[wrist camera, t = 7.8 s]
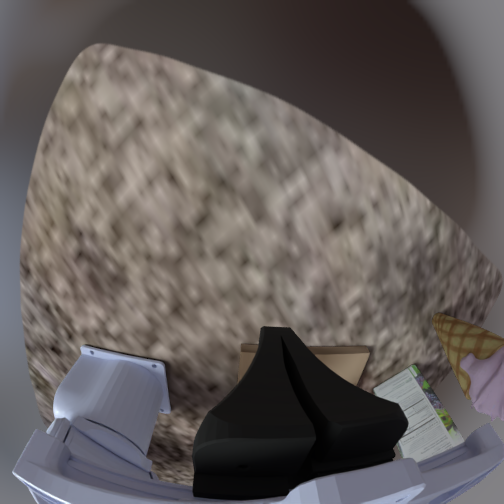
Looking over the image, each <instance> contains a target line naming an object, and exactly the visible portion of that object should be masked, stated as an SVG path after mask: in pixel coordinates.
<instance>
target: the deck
mask: <svg viewBox="0 0 504 504" xmlns="http://www.w3.org/2000/svg"><path fill="white" fill-rule="evenodd" d="M307 348H308V349H309V350H310V351H311V352H312V353H313V354H314V355H315V356H316V357H317V358H318V359H319V360H321V361H322V362H323V363H324V364H325V365H326V366H327V367H328V368H330V369H331V370H332V371H334V372H335V373H336V374H338V375H339V376H340V377H342V378H343V379H345V380H346V381H348V382H350V383H351V384H353V385H355V386H356V385H357V383H358V381H359V378H360V376H361V374H362V371H363V369H364V367H365V364H366V362H367V359H368V357H369V354H370V352H369V350H368V349H367V347H366V346H342V347H307ZM257 349H258V345H251V344H241V350H240V360H239V370H238V380H237V384H238V383H239V381H240V380H241V379H242V377H243V376H244V374H245V373H246V371H247V370H248V368H249V366H250V364H251V363H252V360H253V358H254V356H255V354H256V352H257Z"/></svg>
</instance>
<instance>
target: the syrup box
mask: <svg viewBox="0 0 504 504" xmlns="http://www.w3.org/2000/svg"><path fill="white" fill-rule="evenodd" d="M373 391H374V393H375V396H378V397H380V398H383V399H386V400H389V401H392V402H395V403H398V404H399V405H400V407H401V409H402V410H403V412H404V414H405V416H406V418H407V419H408V422H409V425H408V428H407V430H406V432H405V434H404V435H403V437H402V438H401V439H400V440H399V442H398V443H397V444H396V445H397V447H398V449H399V452H400V454H401V457H402V459H404V458H413V459H414V460H415V461H416V463H417V462H420V461H422V460H425V459H427V458H430V457H432V456H435V455H437V454H440V453H442V452H444V451H446V450H449V449H451V448H453V447H455V446H457V445H459V444H461V443H463V442H465V440H464V439H463V437H462V436H461V434H460V432H459V430H458V429H457V427H456V425H455V424H454V422H453V421H452V419H451V418H450V416H449V414H448V413H447V411H446V410H445V408H444V407H443V405H442V404H441V402H440V400H439V399H438V397H437V396H436V394H435V393H434V391H433V390H432V388H431V387H430V385H429V384H428V383H427V381H426V380H425V378H424V377H423V375H422V374H421V373H420V371H419V370H418V368H417V367H416V365H411V366H410V367H408V368H407V369H405V370H403V371H402V372H400V373H399V374H397V375H395V376H394V377H392V378H390V379H389V380H387V381H385V382H384V383H382V384H380V385H379V386H377V387H375V388H374V389H373Z"/></svg>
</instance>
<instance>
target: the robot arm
mask: <svg viewBox="0 0 504 504" xmlns="http://www.w3.org/2000/svg"><path fill="white" fill-rule="evenodd" d="M92 351H93V352H92ZM81 352H82V355H81V356H80V357H79V359H78V360H77V361H76V363H75V364H74V366H73V367H72V368H71V370H70V371H69V373H68V374H67V375H66V377H65V378H64V380H63V381H62V383H61V384H60V385H59V387H58V389H57V391H56V394H55V398H54V404H53V411H54V416H55V420H54V421H53V422H52V424H51V425H50V427H49V428H48V430H47V431H46V433H45V432H43V431H41V430H39V429H36V430H35V431H34V433H33V435H32V436H31V438H30V440H29V442H28V443H27V445H26V447H25V449H24V451H23V452H22V454H21V456H20V458H19V460H18V462H17V464H16V466H15V467H14V469H13V471H12V472H13V474H14V475H15V476H16V477H17V478H18V479H19V480H20V481H22V482H23V483H24V484H25V485H26V486H27V487H28V489H29V490H30V492H31V494H32V496H33V497H34V499H35V500H36V502H37V504H446V503H448V502H449V501H451V500H453V499H454V498H456V497H458V496H459V495H461V494H463V493H464V492H466V491H467V490H469V489H470V488H472V487H473V486H475V485H476V484H478V483H479V482H480V481H481V480H483V479H484V478H485V477H486V476H487V475H488V474H490V473H491V472H492V471H493V470H494V469H495V468H496V467H497V466H498V465H499V464H500V463H501V462H502V461H503V460H504V444H503V442H502V441H501V439H500V438H499V436H498V435H497V433H496V432H495V430H494V429H493V427H492V426H491V425H490V423H487V424H485V425H483V426H481V427H480V428H478V429H476V430H475V431H473V432H472V433H471V434H470V435H469V437H468V438H467V439H466V440H465V442H463V443H461V444H459V445H457V446H455V447H453V448H451V449H449V450H446V451H444V452H442V453H440V454H437V455H435V456H432V457H430V458H427V459H425V460H422V461H420V462H417V463H416V461H415V460H414V459H413V458H404V459H398V460H395V461H393V459H392V458H394V457H395V452H394V450H393V448H394V446H395V445H396V444H397V443H398V442H399V440H400V439H401V438H402V437H403V435H404V434H405V432H406V430H407V428H408V425H409V422H408V419H407V418H406V416H405V414H404V412H403V410H402V409H401V407H400V405H399V404H398V403H395V402H392V401H389V400H386V399H383V398H380V397H378V396H375V395H373V394H371V393H369V392H366V391H364V390H362V389H360V388H358V387H357V386H355V385H353V384H351V383H350V382H348V381H346V380H345V379H343V378H342V377H340V376H339V375H338V374H336V373H335V372H334V371H332V370H331V369H330V368H328V367H327V366H326V365H325V364H324V363H323V362H322V361H321V360H319V359H318V358H317V357H316V356H315V355H314V354H313V353H312V352H311V351H310V350H309V349H308V348H307V346H306V345H305V344H304V343H303V342H302V341H301V340H300V338H299V337H298V336H297V335H296V334H295V332H294V331H293V330H292V329H291V328H287V327H268V326H263V327H262V328H261V331H260V338H259V345H258V349H257V352H256V354H255V356H254V358H253V360H252V363H251V364H250V366H249V368H248V370H247V371H246V373H245V374H244V376H243V377H242V379H241V380H240V381H239V383H238V384H237V385H236V387H235V388H234V389H233V390H232V391H231V392H230V393H229V394H228V395H227V396H226V397H225V398H224V399H223V400H222V401H221V402H220V403H219V404H218V405H217V406H215V407H214V408H213V409H212V410H210V411H209V412H208V414H207V415H206V417H205V419H204V420H203V422H202V424H201V426H200V428H199V430H198V432H197V434H196V437H195V440H194V445H193V453H192V458H193V465H194V481H193V486H187V485H180V484H174V483H169V482H164V481H159V479H158V477H157V475H156V474H155V473H154V472H152V471H150V470H151V466H152V461H151V460H149V459H148V458H146V455H147V452H148V448H149V444H150V441H151V437H152V434H153V430H154V427H155V423H156V420H157V416H158V413H159V412H161V413H166V414H169V413H170V412H171V406H170V399H169V393H168V385H167V378H166V369H165V364H164V363H163V362H161V361H156V360H150V359H145V358H139V357H134V356H129V355H124V354H120V353H115V352H111V351H106V350H102V349H98V348H94V347H90V346H86V345H82V346H81ZM153 364H155V365H156V366H155V365H153Z"/></svg>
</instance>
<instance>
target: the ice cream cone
mask: <svg viewBox="0 0 504 504" xmlns="http://www.w3.org/2000/svg"><path fill="white" fill-rule="evenodd" d="M432 323H433V326H434V328H435V330H436V332H437V335H438V337H439V339H440V342H441V344H442V346H443V349H444V351H445V353H446V356H447V358H448V360H449V363H450V365H451V367H452V369H453V371H454V373H455V376H456V378H457V380H458V381H459V384H460V386H461V388H462V390H463V392H464V394H465V397H466V398H467V399H468V400H472V403H473V404H472V407H473V405H474V407H475V409H476V410H477V411H478V412H480V413H484V414H487V415H489V416H491V421H493V420H494V419H495V418H496V417H499V418H500V419H501V420H502V421H504V338H502V337H500V336H498V335H496V334H494V333H492V332H490V331H487V330H485V329H483V328H480V327H478V326H476V325H473V324H470V323H468V322H465V321H462V320H459V319H456V318H453V317H450V316H447V315H445V314H442V313H437V314H435V315H434V317H433V319H432ZM472 407H471V408H472Z"/></svg>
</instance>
